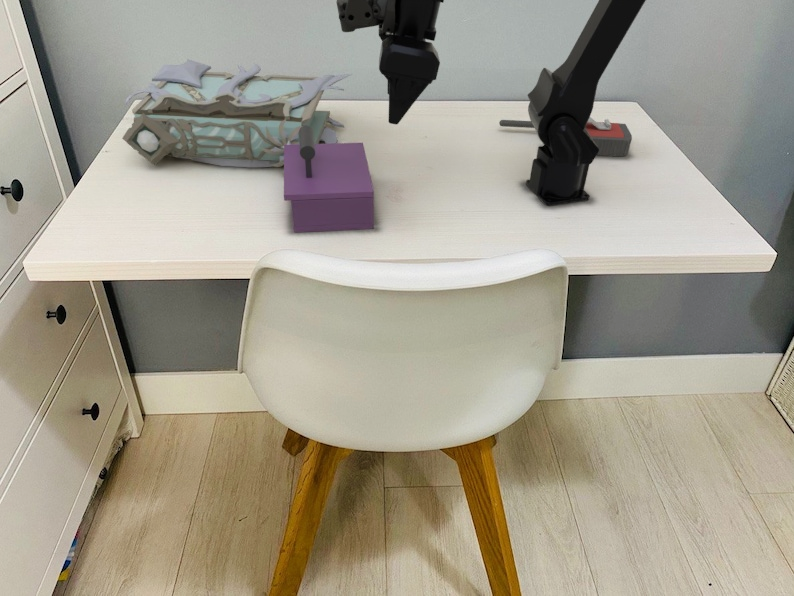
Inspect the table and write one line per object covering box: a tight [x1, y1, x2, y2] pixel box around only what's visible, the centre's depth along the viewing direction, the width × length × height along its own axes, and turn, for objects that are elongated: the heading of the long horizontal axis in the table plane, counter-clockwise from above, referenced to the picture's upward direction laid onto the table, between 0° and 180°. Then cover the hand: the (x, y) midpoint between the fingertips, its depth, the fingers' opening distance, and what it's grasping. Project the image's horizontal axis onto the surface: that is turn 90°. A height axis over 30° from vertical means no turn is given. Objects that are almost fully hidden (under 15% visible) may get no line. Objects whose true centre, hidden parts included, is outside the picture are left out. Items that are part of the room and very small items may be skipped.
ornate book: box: [121, 58, 353, 168], centre depth 96 cm, size 23×10×30 cm
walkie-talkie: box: [498, 116, 633, 157], centre depth 100 cm, size 9×4×20 cm
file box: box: [290, 196, 375, 233], centre depth 83 cm, size 10×14×4 cm
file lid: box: [283, 125, 375, 202], centre depth 80 cm, size 10×14×5 cm
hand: (392, 108), depth 81 cm, fingers open, 9 cm apart
